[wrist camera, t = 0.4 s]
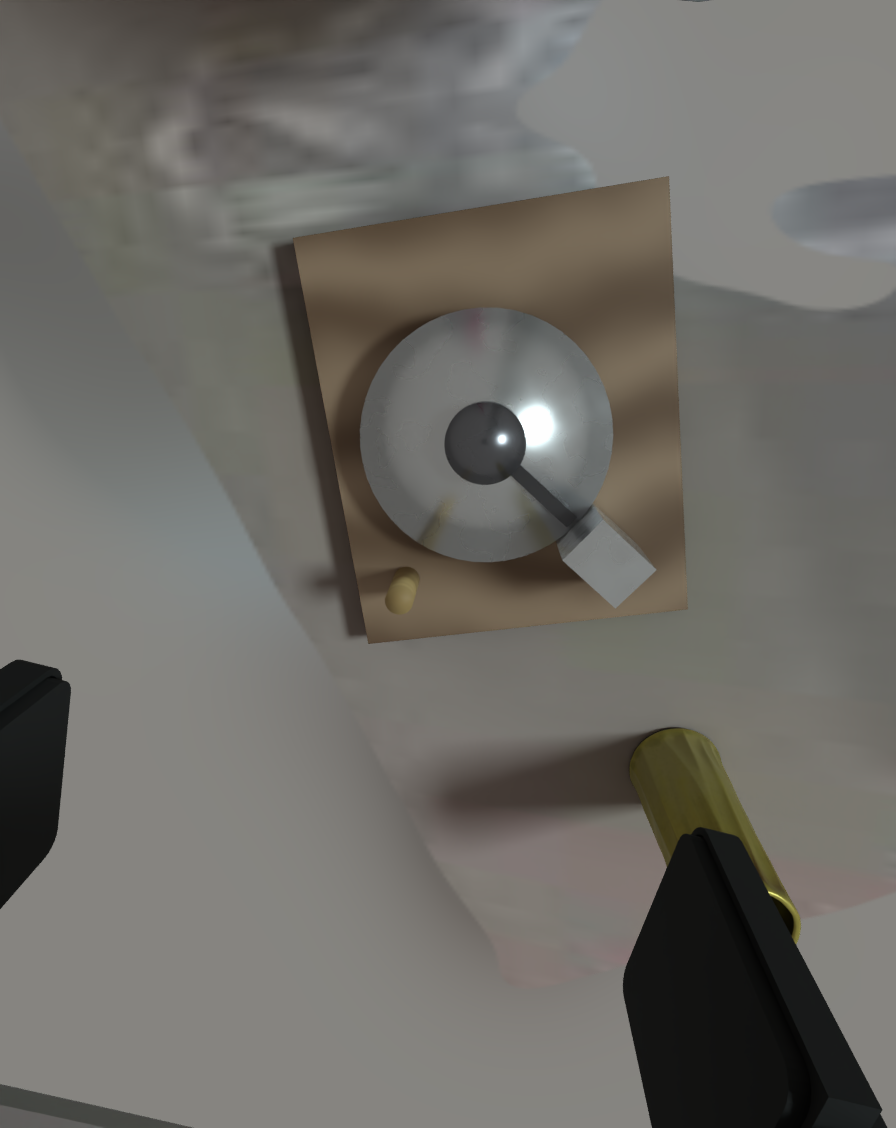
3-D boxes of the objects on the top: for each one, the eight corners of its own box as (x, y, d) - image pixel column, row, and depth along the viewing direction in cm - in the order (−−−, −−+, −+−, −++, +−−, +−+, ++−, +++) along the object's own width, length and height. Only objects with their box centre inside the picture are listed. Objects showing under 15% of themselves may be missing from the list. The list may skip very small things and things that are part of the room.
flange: (315, 445, 41) (293, 458, 36) (478, 251, 37) (477, 238, 33) (537, 641, 44) (543, 675, 39) (708, 477, 40) (737, 494, 36)
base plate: (299, 241, 40) (271, 226, 34) (662, 182, 38) (690, 156, 32) (372, 634, 46) (357, 671, 41) (681, 600, 45) (707, 635, 39)
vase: (622, 799, 49) (674, 974, 36) (635, 722, 47) (695, 874, 34) (710, 808, 49) (796, 986, 35) (727, 730, 47) (824, 887, 33)
